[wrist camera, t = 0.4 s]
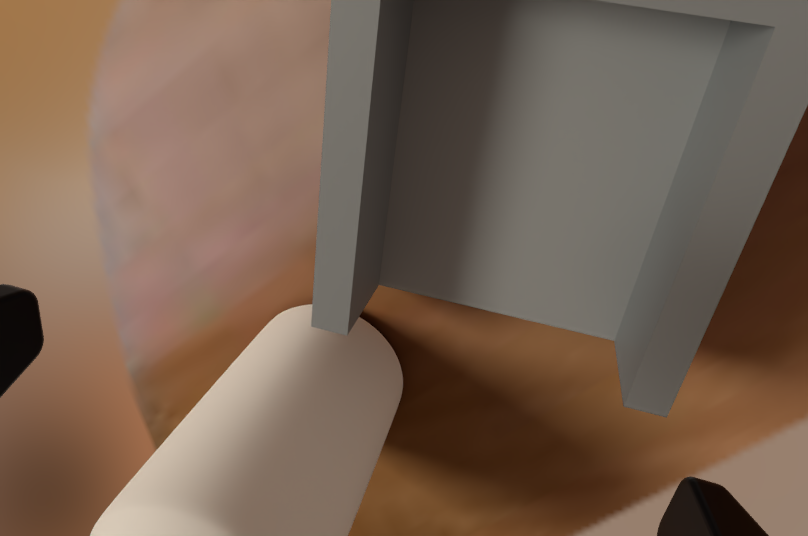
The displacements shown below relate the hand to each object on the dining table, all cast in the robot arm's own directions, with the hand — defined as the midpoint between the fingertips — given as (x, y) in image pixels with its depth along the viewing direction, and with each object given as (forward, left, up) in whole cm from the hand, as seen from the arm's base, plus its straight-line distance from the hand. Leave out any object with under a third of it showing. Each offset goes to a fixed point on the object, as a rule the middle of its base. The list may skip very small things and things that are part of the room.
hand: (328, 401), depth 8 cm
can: (-10, +4, -13) cm, 17 cm away
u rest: (+1, -2, -13) cm, 13 cm away
